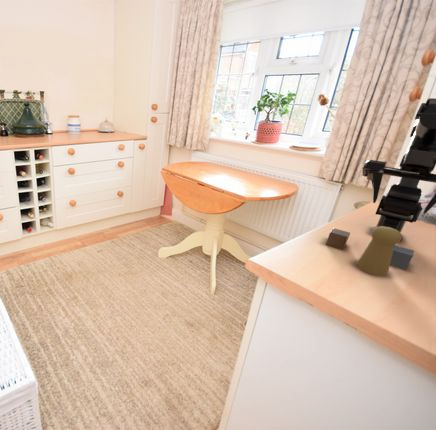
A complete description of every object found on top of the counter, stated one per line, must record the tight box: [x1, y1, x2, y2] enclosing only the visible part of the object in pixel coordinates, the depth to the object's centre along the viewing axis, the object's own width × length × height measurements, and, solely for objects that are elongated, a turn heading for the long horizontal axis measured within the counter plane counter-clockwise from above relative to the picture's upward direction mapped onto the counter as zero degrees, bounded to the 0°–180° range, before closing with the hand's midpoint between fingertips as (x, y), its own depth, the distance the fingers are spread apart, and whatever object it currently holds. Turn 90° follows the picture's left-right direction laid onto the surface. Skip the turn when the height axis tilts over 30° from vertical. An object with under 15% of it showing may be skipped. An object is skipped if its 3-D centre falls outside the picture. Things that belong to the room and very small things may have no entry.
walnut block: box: [325, 227, 351, 250], centre depth 82 cm, size 4×4×4 cm
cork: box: [355, 226, 403, 277], centre depth 69 cm, size 6×6×11 cm
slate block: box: [390, 244, 415, 271], centre depth 73 cm, size 4×4×4 cm
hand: (398, 207), depth 71 cm, fingers open, 9 cm apart
